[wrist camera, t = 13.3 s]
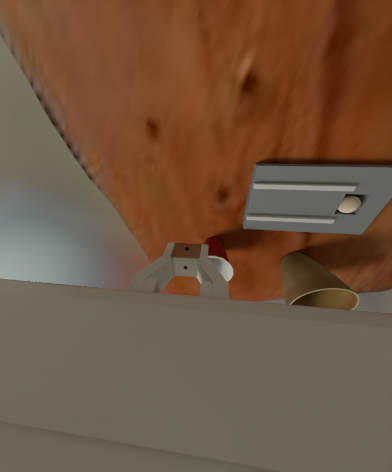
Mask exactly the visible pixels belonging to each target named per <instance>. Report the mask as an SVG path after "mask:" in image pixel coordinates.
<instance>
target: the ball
mask: <svg viewBox="0 0 392 472" xmlns="http://www.w3.org/2000/svg"><path fill="white" fill-rule="evenodd" d="M360 205H361V201H360V199H359V198H358V197H356V196H345V197H344V199H343V200H342V202H341V203H340V205H339V207H338V208H337V209H338V210H339V211H340V212H343V213H351V212H354V211H356V210H357V209H358V208H359V207H360Z"/></svg>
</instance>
